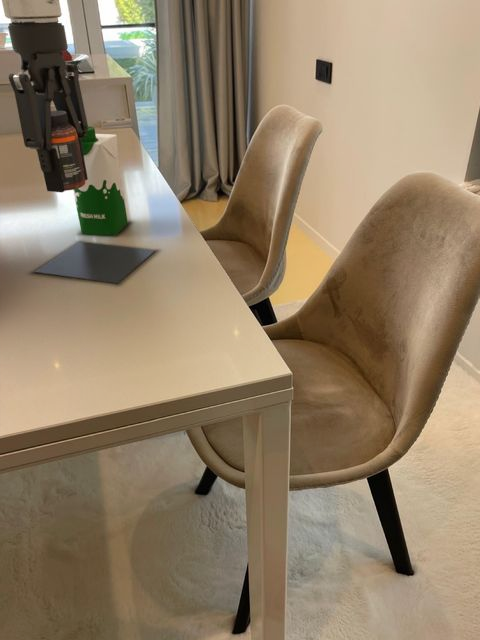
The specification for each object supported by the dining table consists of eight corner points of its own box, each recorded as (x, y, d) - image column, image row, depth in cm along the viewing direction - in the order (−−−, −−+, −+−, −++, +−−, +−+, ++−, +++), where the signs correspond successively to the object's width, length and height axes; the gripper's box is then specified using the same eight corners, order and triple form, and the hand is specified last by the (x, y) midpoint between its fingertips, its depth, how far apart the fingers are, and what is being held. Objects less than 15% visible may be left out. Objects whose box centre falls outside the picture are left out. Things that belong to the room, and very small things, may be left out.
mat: (35, 275, 96) (34, 271, 96) (79, 244, 107) (79, 241, 107) (118, 286, 92) (117, 283, 92) (155, 253, 103) (155, 250, 103)
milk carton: (75, 237, 110) (54, 130, 99) (95, 221, 118) (76, 120, 107) (117, 239, 109) (100, 132, 98) (134, 223, 116) (120, 121, 105)
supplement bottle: (68, 179, 95) (54, 107, 88) (94, 184, 92) (82, 111, 86) (40, 188, 90) (24, 113, 84) (66, 194, 88) (51, 117, 82)
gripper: (13, 24, 70) (53, 205, 83) (94, 17, 85) (117, 171, 98) (-36, 24, 72) (10, 201, 84) (52, 17, 87) (80, 168, 100)
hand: (68, 184), depth 91 cm, fingers closed on supplement bottle, 6 cm apart
